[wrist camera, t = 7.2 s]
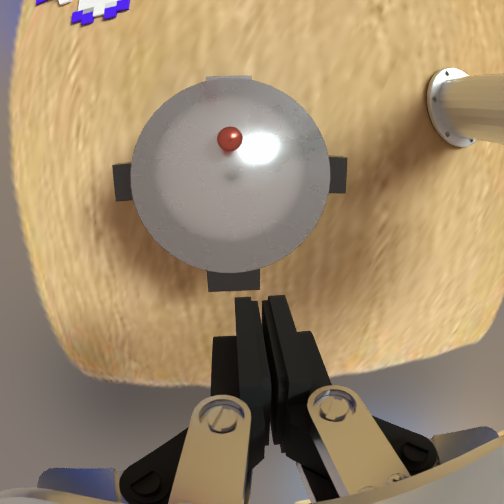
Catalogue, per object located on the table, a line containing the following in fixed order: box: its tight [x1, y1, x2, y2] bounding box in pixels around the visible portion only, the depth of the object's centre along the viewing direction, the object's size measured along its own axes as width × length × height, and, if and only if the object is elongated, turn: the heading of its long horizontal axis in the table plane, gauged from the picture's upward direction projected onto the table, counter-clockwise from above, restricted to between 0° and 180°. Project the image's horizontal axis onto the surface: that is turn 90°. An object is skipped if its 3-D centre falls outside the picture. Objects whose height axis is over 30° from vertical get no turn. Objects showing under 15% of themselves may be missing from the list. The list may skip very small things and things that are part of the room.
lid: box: [131, 78, 330, 292], centre depth 26 cm, size 18×20×3 cm
